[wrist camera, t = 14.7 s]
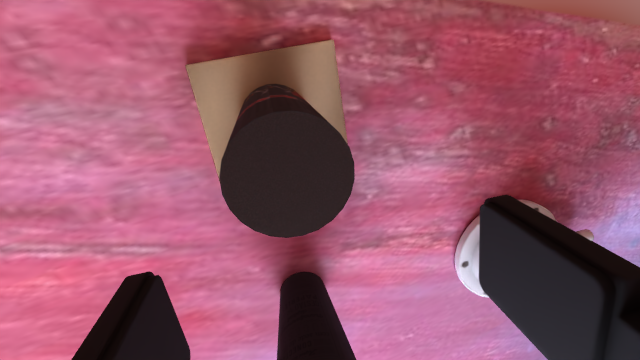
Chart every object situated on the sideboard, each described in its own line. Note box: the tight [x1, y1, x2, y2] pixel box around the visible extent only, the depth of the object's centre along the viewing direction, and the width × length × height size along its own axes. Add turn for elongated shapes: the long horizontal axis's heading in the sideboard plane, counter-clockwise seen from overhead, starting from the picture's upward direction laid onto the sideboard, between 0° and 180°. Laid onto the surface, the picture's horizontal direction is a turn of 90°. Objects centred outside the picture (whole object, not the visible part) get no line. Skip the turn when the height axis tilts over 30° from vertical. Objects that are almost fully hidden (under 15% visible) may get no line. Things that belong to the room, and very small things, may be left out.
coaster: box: [186, 39, 348, 181], centre depth 29 cm, size 12×11×1 cm
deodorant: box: [219, 84, 354, 238], centre depth 22 cm, size 6×6×15 cm
